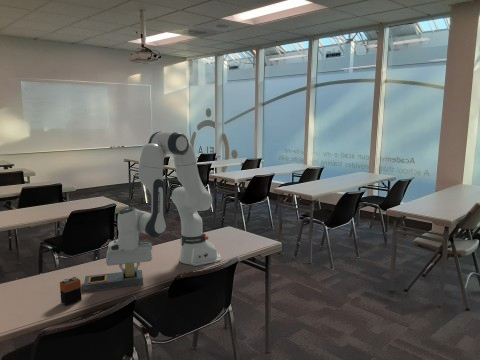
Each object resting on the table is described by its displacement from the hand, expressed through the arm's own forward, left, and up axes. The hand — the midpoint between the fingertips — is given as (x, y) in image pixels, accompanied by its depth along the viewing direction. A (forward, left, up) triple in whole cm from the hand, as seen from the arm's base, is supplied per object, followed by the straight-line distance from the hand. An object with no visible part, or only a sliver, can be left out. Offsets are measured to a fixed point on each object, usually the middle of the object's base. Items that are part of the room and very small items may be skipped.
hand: (129, 272), depth 171 cm
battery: (+24, +13, -5) cm, 27 cm away
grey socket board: (+7, 0, -5) cm, 8 cm away
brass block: (0, 0, -4) cm, 4 cm away
